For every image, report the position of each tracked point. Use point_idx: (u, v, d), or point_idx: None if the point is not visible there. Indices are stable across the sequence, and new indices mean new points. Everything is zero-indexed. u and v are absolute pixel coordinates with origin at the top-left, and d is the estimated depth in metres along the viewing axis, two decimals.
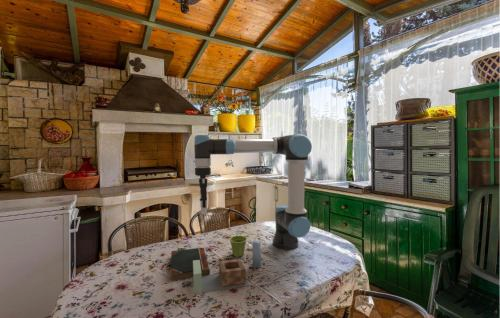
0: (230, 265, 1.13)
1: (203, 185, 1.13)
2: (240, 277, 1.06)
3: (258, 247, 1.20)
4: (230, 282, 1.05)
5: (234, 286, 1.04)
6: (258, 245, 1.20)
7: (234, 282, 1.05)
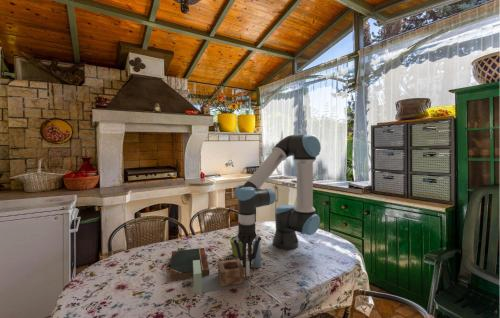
0: (229, 265, 1.12)
1: None
2: (239, 277, 1.06)
3: (258, 247, 1.20)
4: (229, 283, 1.05)
5: (234, 286, 1.04)
6: (258, 245, 1.20)
7: (233, 283, 1.05)
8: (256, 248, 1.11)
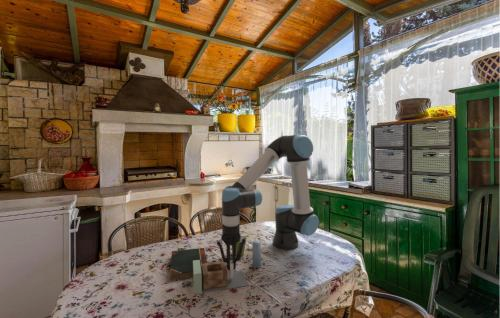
0: (213, 267, 1.11)
1: (219, 247, 1.08)
2: (222, 280, 1.04)
3: (258, 247, 1.20)
4: (212, 285, 1.03)
5: (234, 286, 1.04)
6: (258, 245, 1.20)
7: (216, 285, 1.03)
8: (240, 250, 1.09)
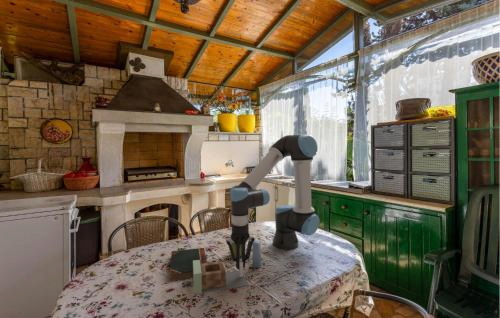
0: (212, 268, 1.10)
1: (229, 247, 1.09)
2: (220, 280, 1.04)
3: (258, 247, 1.20)
4: (210, 285, 1.03)
5: (234, 286, 1.04)
6: (258, 245, 1.20)
7: (214, 285, 1.03)
8: (249, 249, 1.10)
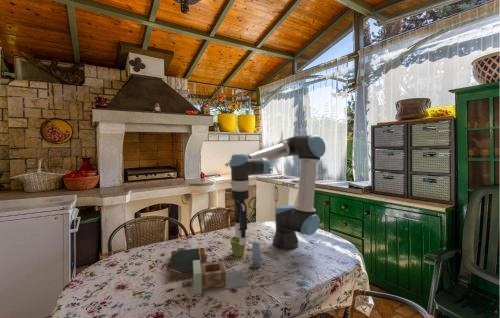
0: (212, 268, 1.10)
1: (243, 213, 1.03)
2: (220, 280, 1.04)
3: (258, 247, 1.20)
4: (210, 285, 1.03)
5: (234, 286, 1.04)
6: (258, 245, 1.20)
7: (214, 285, 1.03)
8: None
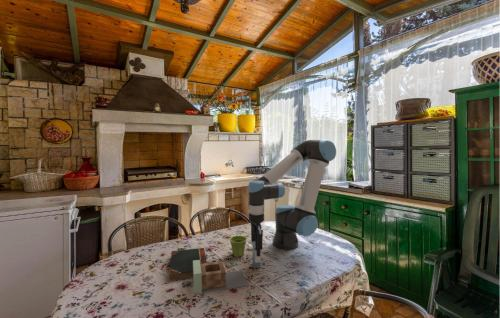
0: (212, 268, 1.10)
1: (259, 236, 1.16)
2: (220, 280, 1.04)
3: None
4: (210, 285, 1.03)
5: (234, 286, 1.04)
6: None
7: (214, 285, 1.03)
8: None
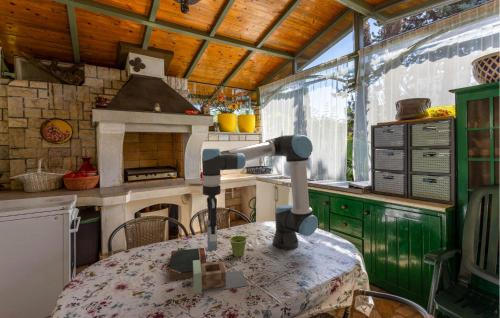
0: (212, 268, 1.10)
1: (213, 211, 1.00)
2: (220, 280, 1.04)
3: None
4: (210, 285, 1.03)
5: (234, 286, 1.04)
6: None
7: (214, 285, 1.03)
8: None
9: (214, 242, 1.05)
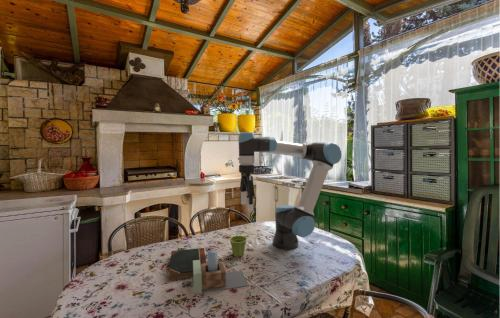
0: None
1: (250, 182, 1.14)
2: (220, 280, 1.04)
3: (213, 257, 1.06)
4: (210, 285, 1.03)
5: (234, 286, 1.04)
6: (213, 255, 1.06)
7: (214, 285, 1.03)
8: None
9: None
